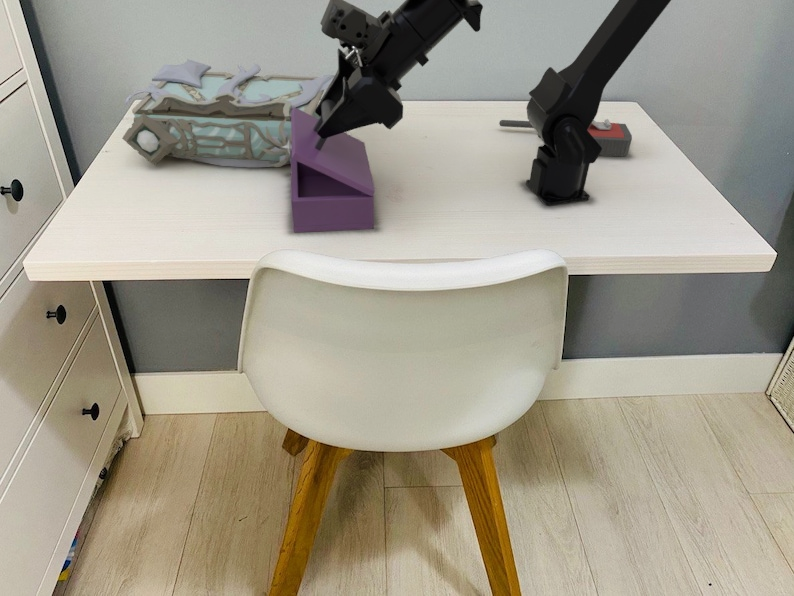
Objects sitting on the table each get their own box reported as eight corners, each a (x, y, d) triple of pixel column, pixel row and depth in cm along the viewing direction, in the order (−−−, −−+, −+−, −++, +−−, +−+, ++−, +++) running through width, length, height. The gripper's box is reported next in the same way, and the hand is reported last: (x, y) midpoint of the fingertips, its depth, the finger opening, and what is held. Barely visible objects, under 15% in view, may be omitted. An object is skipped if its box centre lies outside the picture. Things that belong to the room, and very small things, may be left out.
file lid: (291, 158, 73) (312, 120, 71) (290, 111, 84) (308, 77, 81) (372, 196, 77) (393, 162, 75) (361, 147, 88) (380, 115, 86)
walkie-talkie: (623, 134, 105) (497, 128, 105) (630, 107, 102) (501, 101, 102) (636, 158, 98) (501, 152, 98) (644, 130, 95) (505, 123, 96)
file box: (293, 232, 79) (291, 200, 76) (292, 179, 89) (290, 150, 87) (373, 228, 80) (373, 197, 77) (363, 177, 91) (362, 148, 88)
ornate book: (122, 175, 91) (337, 180, 89) (102, 108, 85) (332, 112, 83) (176, 113, 109) (355, 116, 107) (162, 53, 103) (353, 56, 101)
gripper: (357, -47, 76) (267, 51, 81) (374, -7, 61) (264, 108, 67) (420, 25, 82) (332, 111, 87) (449, 76, 67) (342, 177, 72)
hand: (318, 124), depth 78 cm, fingers closed on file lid, 6 cm apart
